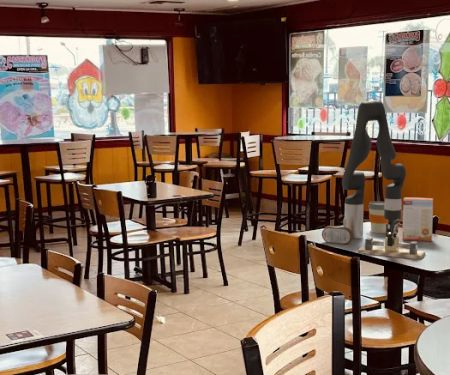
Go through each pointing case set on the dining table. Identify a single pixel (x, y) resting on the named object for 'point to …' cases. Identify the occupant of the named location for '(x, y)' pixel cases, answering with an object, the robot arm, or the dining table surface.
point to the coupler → (395, 245)
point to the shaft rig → (403, 253)
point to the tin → (337, 235)
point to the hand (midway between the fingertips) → (391, 244)
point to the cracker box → (417, 219)
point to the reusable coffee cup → (377, 217)
